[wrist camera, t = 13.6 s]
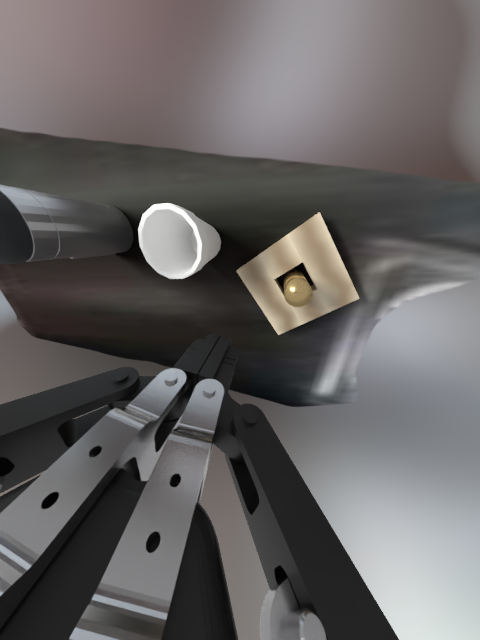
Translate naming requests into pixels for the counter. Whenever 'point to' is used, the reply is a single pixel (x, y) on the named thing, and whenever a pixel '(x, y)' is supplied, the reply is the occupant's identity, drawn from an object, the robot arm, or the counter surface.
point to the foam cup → (176, 240)
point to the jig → (319, 261)
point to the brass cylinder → (297, 289)
